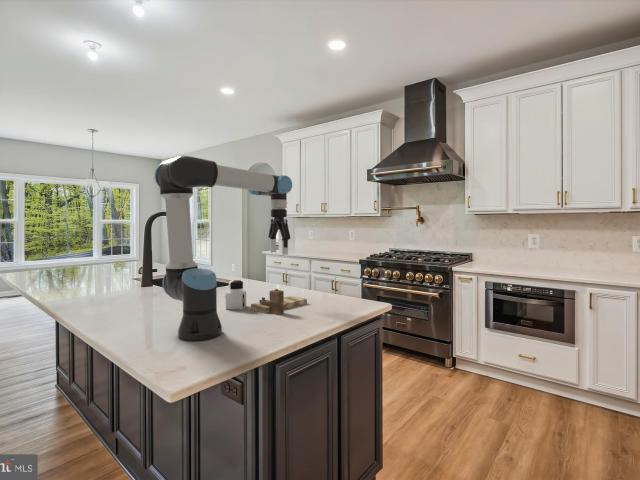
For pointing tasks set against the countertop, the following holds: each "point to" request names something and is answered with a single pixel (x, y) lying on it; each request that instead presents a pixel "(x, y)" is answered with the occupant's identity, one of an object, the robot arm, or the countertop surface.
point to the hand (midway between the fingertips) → (278, 253)
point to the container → (236, 296)
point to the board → (288, 302)
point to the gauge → (275, 301)
